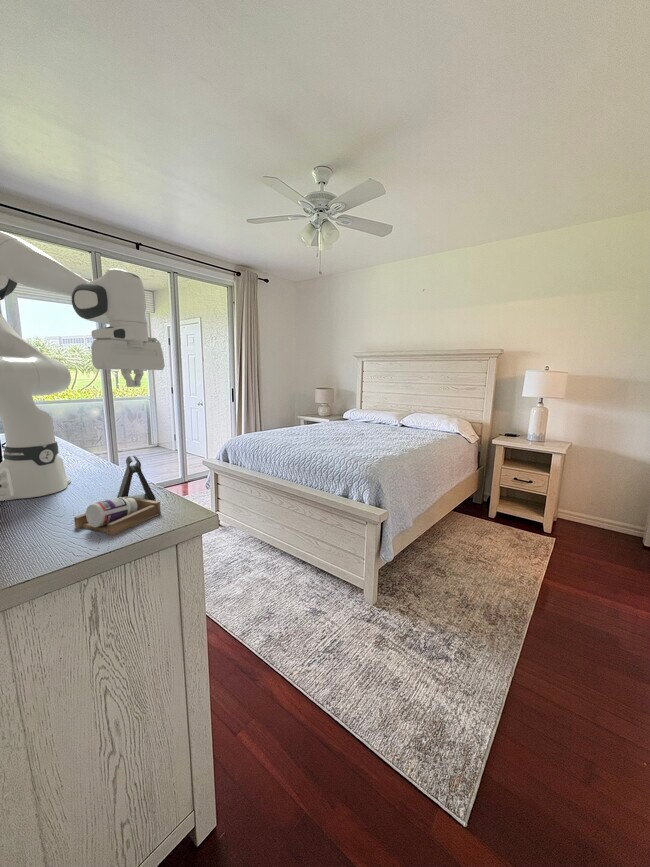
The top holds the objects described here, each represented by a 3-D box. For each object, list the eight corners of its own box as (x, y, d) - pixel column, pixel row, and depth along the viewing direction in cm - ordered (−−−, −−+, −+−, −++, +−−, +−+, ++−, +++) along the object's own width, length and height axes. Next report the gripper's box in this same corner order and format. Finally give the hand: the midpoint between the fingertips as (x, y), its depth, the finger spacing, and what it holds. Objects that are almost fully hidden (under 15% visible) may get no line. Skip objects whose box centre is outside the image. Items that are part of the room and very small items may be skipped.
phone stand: (118, 506, 94) (114, 462, 92) (116, 499, 99) (113, 457, 97) (155, 499, 99) (152, 458, 97) (152, 493, 104) (149, 453, 102)
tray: (75, 527, 81) (73, 515, 81) (126, 507, 94) (125, 496, 93) (112, 535, 77) (110, 522, 77) (160, 513, 90) (159, 501, 90)
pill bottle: (86, 528, 80) (126, 517, 89) (102, 527, 78) (141, 515, 87) (83, 504, 80) (122, 495, 89) (99, 502, 78) (137, 493, 87)
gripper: (151, 338, 106) (154, 385, 108) (84, 330, 87) (90, 387, 89) (168, 338, 104) (171, 386, 106) (103, 329, 85) (109, 388, 87)
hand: (133, 386), depth 97 cm, fingers closed
